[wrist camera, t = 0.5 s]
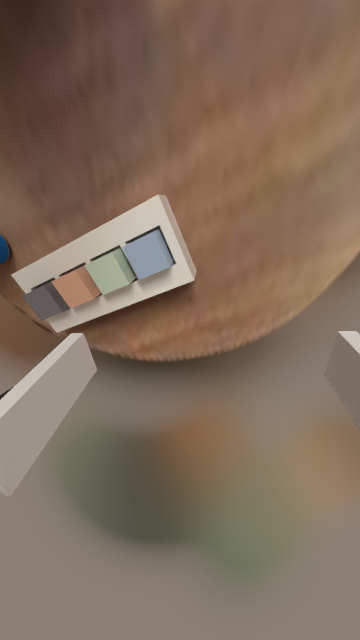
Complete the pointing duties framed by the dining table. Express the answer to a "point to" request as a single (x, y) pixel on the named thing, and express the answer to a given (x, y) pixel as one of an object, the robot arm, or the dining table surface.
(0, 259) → the beverage can
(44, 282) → the keypad
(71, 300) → the terracotta key
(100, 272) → the sage key
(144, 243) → the slate key
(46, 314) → the charcoal key
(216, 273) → the dining table surface
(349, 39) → the dining table surface
